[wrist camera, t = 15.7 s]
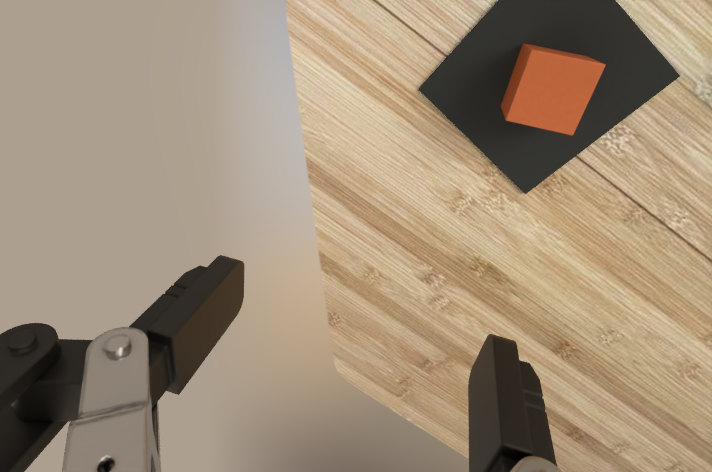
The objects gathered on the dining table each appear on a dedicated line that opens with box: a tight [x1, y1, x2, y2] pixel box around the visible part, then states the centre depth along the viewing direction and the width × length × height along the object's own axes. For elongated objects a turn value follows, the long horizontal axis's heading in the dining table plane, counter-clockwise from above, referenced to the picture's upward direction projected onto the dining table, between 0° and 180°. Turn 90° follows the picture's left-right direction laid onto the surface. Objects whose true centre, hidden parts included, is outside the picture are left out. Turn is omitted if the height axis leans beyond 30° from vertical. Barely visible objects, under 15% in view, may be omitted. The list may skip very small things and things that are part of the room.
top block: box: [501, 43, 606, 135], centre depth 31 cm, size 5×5×5 cm
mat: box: [419, 0, 680, 194], centre depth 33 cm, size 14×14×1 cm
